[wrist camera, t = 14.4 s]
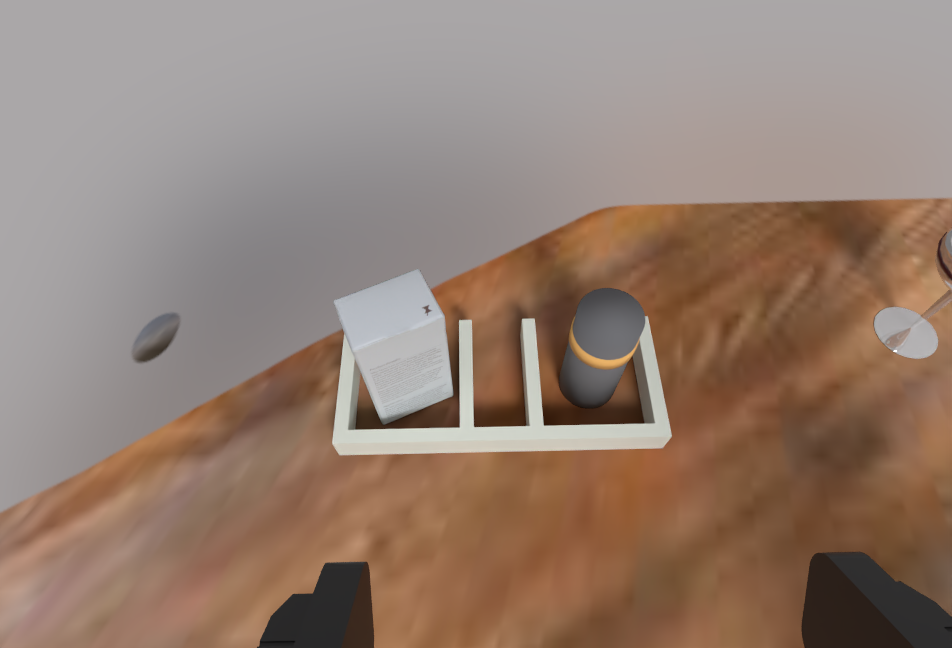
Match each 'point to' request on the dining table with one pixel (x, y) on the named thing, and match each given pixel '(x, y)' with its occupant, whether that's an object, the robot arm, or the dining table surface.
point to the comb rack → (511, 437)
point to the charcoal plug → (600, 346)
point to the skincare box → (398, 344)
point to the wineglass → (909, 328)
